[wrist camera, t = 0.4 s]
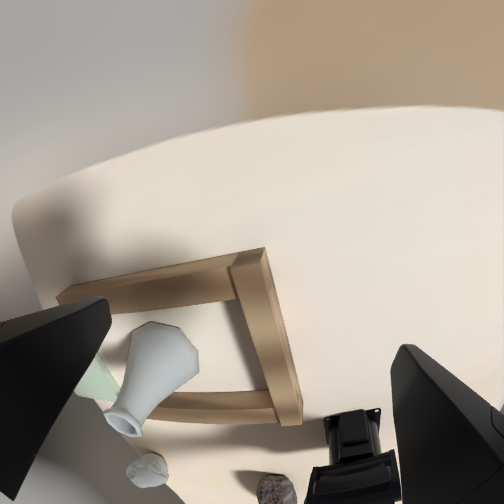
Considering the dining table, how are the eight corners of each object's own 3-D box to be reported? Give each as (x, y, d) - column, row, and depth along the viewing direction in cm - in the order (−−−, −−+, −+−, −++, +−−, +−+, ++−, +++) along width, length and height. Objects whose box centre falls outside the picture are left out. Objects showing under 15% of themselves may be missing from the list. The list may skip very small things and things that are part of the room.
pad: (127, 399, 31) (125, 403, 30) (80, 392, 33) (77, 395, 33) (89, 337, 28) (85, 341, 27) (45, 337, 30) (41, 340, 30)
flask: (185, 317, 25) (135, 398, 15) (211, 376, 27) (180, 457, 17) (123, 322, 26) (67, 387, 17) (152, 376, 28) (112, 443, 19)
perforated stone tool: (301, 498, 37) (298, 528, 30) (273, 498, 38) (268, 528, 31) (294, 467, 32) (290, 507, 26) (258, 467, 33) (250, 506, 27)
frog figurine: (131, 442, 36) (114, 473, 30) (166, 449, 35) (151, 484, 28) (147, 460, 38) (133, 489, 32) (181, 467, 37) (169, 499, 30)
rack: (303, 402, 26) (302, 424, 23) (135, 402, 31) (125, 418, 28) (264, 247, 21) (259, 263, 18) (69, 286, 26) (52, 299, 23)
